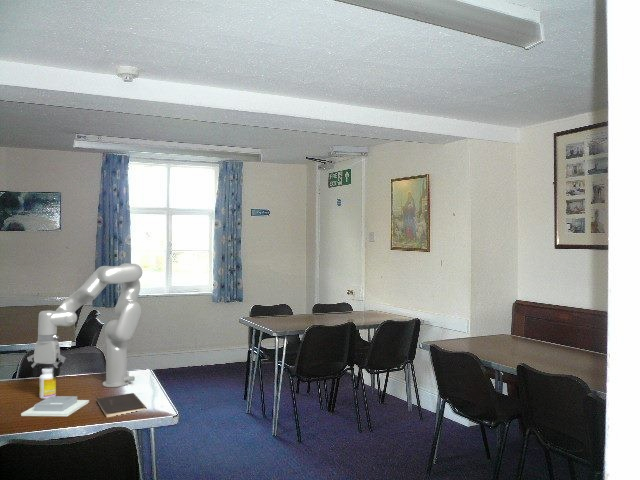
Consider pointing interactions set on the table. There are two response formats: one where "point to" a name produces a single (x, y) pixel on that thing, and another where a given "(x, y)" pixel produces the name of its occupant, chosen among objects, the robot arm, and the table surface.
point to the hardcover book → (120, 404)
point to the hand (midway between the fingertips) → (45, 376)
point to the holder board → (56, 406)
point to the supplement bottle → (47, 383)
